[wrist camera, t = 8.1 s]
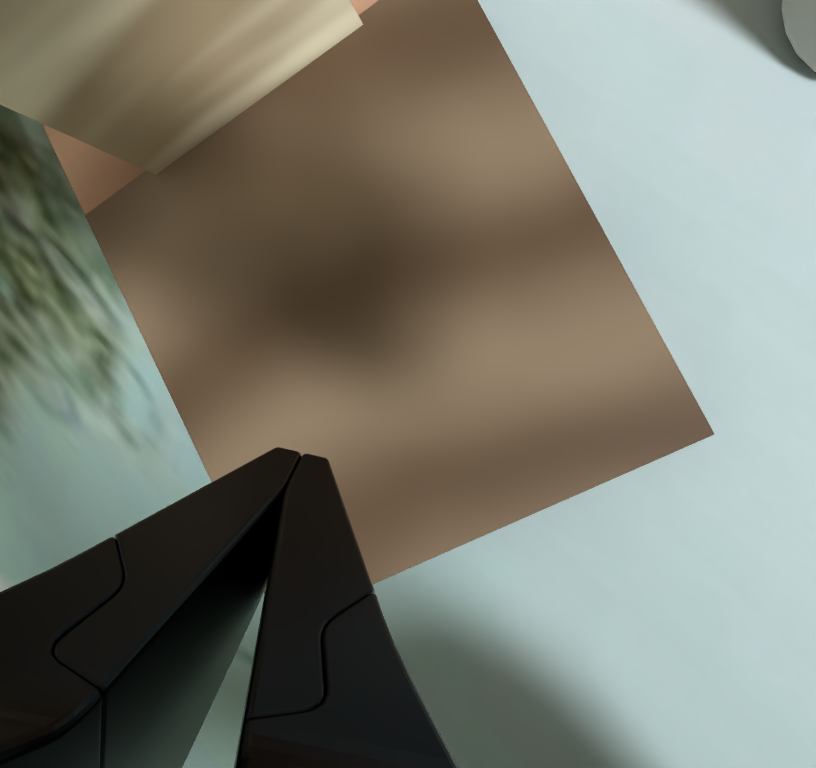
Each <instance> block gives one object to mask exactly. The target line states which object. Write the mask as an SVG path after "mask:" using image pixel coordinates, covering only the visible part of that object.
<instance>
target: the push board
mask: <svg viewBox="0 0 816 768" xmlns="http://www.w3.org/2000/svg"><path fill="white" fill-rule="evenodd" d="M351 2H352V4H353V6H354V8H355V10H356V12H357V14H358V15H359V17H360V19H361V21H362V23H363V25H362V26H361V27H359V28H358V29H356V30H355V31H354V32H352V33H351V34H350V35H348V36H347V37H345V38H344V39H343V40H341V41H340V42H338V43H337V44H336V45H334V46H333V47H332V48H330V49H329V50H327V51H326V52H325V53H323V54H322V55H321V56H319V57H318V58H316V59H315V60H314V61H312V62H311V63H310V64H308V65H307V66H305V67H304V68H303V69H301V70H300V71H298V72H297V73H296V74H294V75H293V76H292V77H290V78H289V79H287V80H286V81H285V82H283V83H282V84H281V85H279V86H278V87H276V88H275V89H274V90H272V91H271V92H270V93H268V94H267V95H265V96H264V97H263V98H261V99H260V100H258V101H257V102H256V103H254V104H253V105H252V106H250V107H249V108H247V109H246V110H245V111H243V112H242V113H241V114H239V115H238V116H236V117H235V118H234V119H232V120H231V121H230V122H228V123H227V124H225V125H224V126H223V127H221V128H220V129H218V130H217V131H216V132H214V133H213V134H212V135H210V136H209V137H207V138H206V139H205V140H203V141H202V142H201V143H199V144H198V145H196V146H195V147H194V148H192V149H191V150H189V151H188V152H187V153H185V154H184V155H183V156H181V157H180V158H178V159H177V160H176V161H174V162H173V163H172V164H170V165H169V166H167V167H166V168H165V169H163V170H162V171H161V172H159V173H158V174H156V175H155V174H153V173H150V172H148V171H146V170H144V169H141V168H139V167H137V166H135V165H133V164H130V163H128V162H126V161H124V160H122V159H119V158H117V157H115V156H113V155H110V154H108V153H106V152H104V151H102V150H99V149H97V148H95V147H93V146H91V145H88V144H86V143H84V142H82V141H79V140H77V139H75V138H73V137H71V136H68V135H66V134H64V133H62V132H60V131H57V130H55V129H53V128H51V127H49V126H46V125H44V124H42V123H41V124H42V126H43V128H44V130H45V132H46V134H47V136H48V138H49V140H50V142H51V145H52V147H53V149H54V151H55V153H56V155H57V157H58V159H59V161H60V164H61V166H62V168H63V170H64V172H65V174H66V176H67V178H68V180H69V182H70V185H71V187H72V189H73V191H74V193H75V195H76V197H77V199H78V201H79V204H80V206H81V208H82V210H83V212H84V214H85V216H86V218H87V220H88V222H89V225H90V227H91V229H92V231H93V233H94V235H95V237H96V239H97V241H98V244H99V246H100V248H101V250H102V252H103V254H104V256H105V258H106V260H107V263H108V265H109V267H110V269H111V271H112V273H113V275H114V277H115V279H116V281H117V284H118V286H119V288H120V290H121V292H122V294H123V296H124V298H125V300H126V303H127V305H128V307H129V309H130V311H131V313H132V315H133V317H134V319H135V321H136V324H137V326H138V328H139V330H140V332H141V334H142V336H143V338H144V340H145V343H146V345H147V347H148V349H149V351H150V353H151V355H152V357H153V359H154V361H155V364H156V366H157V368H158V370H159V372H160V374H161V376H162V378H163V380H164V383H165V385H166V387H167V389H168V391H169V393H170V395H171V397H172V399H173V402H174V404H175V406H176V408H177V410H178V412H179V414H180V416H181V418H182V420H183V423H184V425H185V427H186V429H187V431H188V433H189V435H190V437H191V439H192V442H193V444H194V446H195V448H196V450H197V452H198V454H199V456H200V458H201V460H202V463H203V465H204V467H205V469H206V471H207V473H208V475H209V477H210V479H211V482H213V481H215V480H217V479H219V478H221V477H222V476H224V475H226V474H228V473H230V472H232V471H233V470H235V469H237V468H239V467H241V466H243V465H244V464H246V463H248V462H250V461H252V460H254V459H255V458H257V457H259V456H261V455H263V454H265V453H266V452H268V451H270V450H272V449H274V448H276V447H281V448H285V449H289V450H294V451H298V452H300V454H301V457H302V455H303V454H311V455H315V456H320V457H324V458H327V459H328V460H329V463H330V466H331V468H332V471H333V474H334V477H335V480H336V483H337V486H338V488H339V491H340V494H341V497H342V500H343V503H344V506H345V509H346V511H347V514H348V517H349V520H350V523H351V526H352V529H353V531H354V534H355V537H356V540H357V543H358V546H359V549H360V551H361V554H362V557H363V560H364V563H365V566H366V569H367V571H368V574H369V577H370V580H371V583H372V584H374V583H377V582H379V581H381V580H383V579H386V578H388V577H390V576H393V575H395V574H397V573H399V572H402V571H404V570H406V569H408V568H411V567H413V566H415V565H418V564H420V563H422V562H424V561H427V560H429V559H431V558H434V557H436V556H438V555H440V554H443V553H445V552H447V551H449V550H452V549H454V548H456V547H459V546H461V545H463V544H465V543H468V542H470V541H472V540H475V539H477V538H479V537H481V536H484V535H486V534H488V533H491V532H493V531H495V530H497V529H500V528H502V527H504V526H506V525H509V524H511V523H513V522H516V521H518V520H520V519H522V518H525V517H527V516H529V515H532V514H534V513H536V512H538V511H541V510H543V509H545V508H547V507H550V506H552V505H554V504H557V503H559V502H561V501H563V500H566V499H568V498H570V497H573V496H575V495H577V494H579V493H582V492H584V491H586V490H589V489H591V488H593V487H595V486H598V485H600V484H602V483H604V482H607V481H609V480H611V479H614V478H616V477H618V476H620V475H623V474H625V473H627V472H630V471H632V470H634V469H636V468H639V467H641V466H643V465H646V464H648V463H650V462H652V461H655V460H657V459H659V458H661V457H664V456H666V455H668V454H671V453H673V452H675V451H677V450H680V449H682V448H684V447H687V446H689V445H691V444H693V443H696V442H698V441H700V440H702V439H705V438H707V437H709V436H712V435H714V432H713V431H712V429H711V427H710V425H709V423H708V421H707V420H706V418H705V416H704V414H703V412H702V410H701V409H700V407H699V405H698V403H697V401H696V399H695V398H694V396H693V394H692V392H691V390H690V388H689V387H688V385H687V383H686V381H685V379H684V377H683V376H682V374H681V372H680V370H679V368H678V366H677V365H676V363H675V361H674V359H673V357H672V355H671V354H670V352H669V350H668V348H667V346H666V344H665V343H664V341H663V339H662V337H661V335H660V334H659V332H658V330H657V328H656V326H655V324H654V323H653V321H652V319H651V317H650V315H649V313H648V312H647V310H646V308H645V306H644V304H643V302H642V301H641V299H640V297H639V295H638V293H637V291H636V290H635V288H634V286H633V284H632V282H631V280H630V279H629V277H628V275H627V273H626V271H625V269H624V268H623V266H622V264H621V262H620V260H619V258H618V257H617V255H616V253H615V251H614V249H613V247H612V246H611V244H610V242H609V240H608V238H607V237H606V235H605V233H604V231H603V229H602V227H601V226H600V224H599V222H598V220H597V218H596V216H595V215H594V213H593V211H592V209H591V207H590V205H589V204H588V202H587V200H586V198H585V196H584V194H583V193H582V191H581V189H580V187H579V185H578V183H577V182H576V180H575V178H574V176H573V174H572V172H571V171H570V169H569V167H568V165H567V163H566V161H565V160H564V158H563V156H562V154H561V152H560V151H559V149H558V147H557V145H556V143H555V141H554V140H553V138H552V136H551V134H550V132H549V130H548V129H547V127H546V125H545V123H544V121H543V119H542V118H541V116H540V114H539V112H538V110H537V108H536V107H535V105H534V103H533V101H532V99H531V97H530V96H529V94H528V92H527V90H526V88H525V86H524V85H523V83H522V81H521V79H520V77H519V75H518V74H517V72H516V70H515V68H514V66H513V64H512V63H511V61H510V59H509V57H508V55H507V54H506V52H505V50H504V48H503V46H502V44H501V43H500V41H499V39H498V37H497V35H496V33H495V32H494V30H493V28H492V26H491V24H490V22H489V21H488V19H487V17H486V15H485V13H484V11H483V10H482V8H481V6H480V4H479V2H478V0H351ZM265 591H266V587H265V590H264V593H265Z"/></svg>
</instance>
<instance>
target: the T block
mask: <svg viewBox="0 0 816 768" xmlns="http://www.w3.org/2000/svg"><path fill="white" fill-rule="evenodd" d="M362 25H363V23H362V21H361V19H360V17H359V15H358V14H357V12H356V10H355V8H354V6H353V4H352V2H351V0H0V105H2V106H4V107H6V108H9V109H11V110H13V111H15V112H18V113H20V114H22V115H24V116H26V117H29V118H31V119H33V120H35V121H37V122H40V123H42V124H44V125H46V126H49V127H51V128H53V129H55V130H57V131H60V132H62V133H64V134H66V135H68V136H71V137H73V138H75V139H77V140H79V141H82V142H84V143H86V144H88V145H91V146H93V147H95V148H97V149H99V150H102V151H104V152H106V153H108V154H110V155H113V156H115V157H117V158H119V159H122V160H124V161H126V162H128V163H130V164H133V165H135V166H137V167H139V168H141V169H144V170H146V171H148V172H150V173H153V174H155V175H156V174H158V173H159V172H161V171H162V170H163V169H165V168H166V167H167V166H169V165H170V164H172V163H173V162H174V161H176V160H177V159H178V158H180V157H181V156H183V155H184V154H185V153H187V152H188V151H189V150H191V149H192V148H194V147H195V146H196V145H198V144H199V143H201V142H202V141H203V140H205V139H206V138H207V137H209V136H210V135H212V134H213V133H214V132H216V131H217V130H218V129H220V128H221V127H223V126H224V125H225V124H227V123H228V122H230V121H231V120H232V119H234V118H235V117H236V116H238V115H239V114H241V113H242V112H243V111H245V110H246V109H247V108H249V107H250V106H252V105H253V104H254V103H256V102H257V101H258V100H260V99H261V98H263V97H264V96H265V95H267V94H268V93H270V92H271V91H272V90H274V89H275V88H276V87H278V86H279V85H281V84H282V83H283V82H285V81H286V80H287V79H289V78H290V77H292V76H293V75H294V74H296V73H297V72H298V71H300V70H301V69H303V68H304V67H305V66H307V65H308V64H310V63H311V62H312V61H314V60H315V59H316V58H318V57H319V56H321V55H322V54H323V53H325V52H326V51H327V50H329V49H330V48H332V47H333V46H334V45H336V44H337V43H338V42H340V41H341V40H343V39H344V38H345V37H347V36H348V35H350V34H351V33H352V32H354V31H355V30H356V29H358V28H359V27H361V26H362Z"/></svg>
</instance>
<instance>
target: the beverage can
mask: <svg viewBox="0 0 816 768" xmlns="http://www.w3.org/2000/svg"><path fill="white" fill-rule="evenodd" d="M781 9H782V15H783V21H784V27H785V33H786V35H787V36H788V38H789V40H790V42H791V44H792V46H793V48H794V50H795V52H796V54H797V55H798V56H799V57H800V58H801V59H802V60H803V61H804V62H805V63H806V64H807V65H808V66H809V67H810V68H811V69H812V70H813V71H814V72H816V0H782V6H781Z"/></svg>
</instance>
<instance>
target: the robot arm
mask: <svg viewBox="0 0 816 768" xmlns="http://www.w3.org/2000/svg"><path fill="white" fill-rule="evenodd" d="M265 587H266V591H265V596H264V602H263V607H262V613H261V618H260V624H259V630H258V635H257V641H256V646H255V652H254V657H253V663H252V669H251V674H250V680H249V685H248V691H247V697H246V702H245V708H244V713H243V719H242V724H241V730H240V736H239V741H238V747H237V752H236V758H235V764H234V768H458V767H457V765H456V763H455V762H454V760H453V758H452V756H451V754H450V752H449V750H448V748H447V746H446V744H445V742H444V741H443V739H442V737H441V735H440V733H439V731H438V729H437V727H436V725H435V723H434V721H433V719H432V717H431V716H430V714H429V712H428V710H427V708H426V706H425V704H424V702H423V700H422V698H421V696H420V694H419V693H418V691H417V689H416V687H415V685H414V683H413V681H412V679H411V677H410V675H409V673H408V671H407V669H406V667H405V665H404V663H403V661H402V659H401V657H400V655H399V652H398V650H397V648H396V646H395V644H394V642H393V639H392V637H391V634H390V632H389V629H388V627H387V624H386V621H385V619H384V616H383V614H382V611H381V608H380V605H379V602H378V599H377V596H376V595H375V594H374V589H373V586H372V583H371V580H370V577H369V574H368V571H367V569H366V566H365V563H364V560H363V557H362V554H361V551H360V549H359V546H358V543H357V540H356V537H355V534H354V531H353V529H352V526H351V523H350V520H349V517H348V514H347V511H346V509H345V506H344V503H343V500H342V497H341V494H340V491H339V488H338V486H337V483H336V480H335V477H334V474H333V471H332V468H331V466H330V463H329V460H328V459H327V458H324V457H320V456H315V455H311V454H303V455H302V457H301V454H300V452H298V451H294V450H289V449H285V448H281V447H276V448H274V449H272V450H270V451H268V452H266V453H265V454H263V455H261V456H259V457H257V458H255V459H254V460H252V461H250V462H248V463H246V464H244V465H243V466H241V467H239V468H237V469H235V470H233V471H232V472H230V473H228V474H226V475H224V476H222V477H221V478H219V479H217V480H215V481H213V482H211V483H210V484H208V485H206V486H204V487H202V488H200V489H199V490H197V491H195V492H193V493H191V494H189V495H188V496H186V497H184V498H182V499H180V500H178V501H177V502H175V503H173V504H171V505H169V506H167V507H166V508H164V509H162V510H160V511H158V512H156V513H155V514H153V515H151V516H149V517H147V518H145V519H144V520H142V521H140V522H138V523H136V524H134V525H133V526H131V527H129V528H127V529H125V530H124V531H122V532H120V533H118V534H116V535H115V538H113V537H111V538H108V539H107V540H105V541H103V542H101V543H99V544H97V545H96V546H94V547H92V548H90V549H88V550H86V551H84V552H82V553H81V554H79V555H77V556H75V557H73V558H71V559H69V560H67V561H65V562H63V563H61V564H59V565H57V566H55V567H53V568H51V569H49V570H47V571H45V572H43V573H41V574H39V575H36V576H34V577H32V578H30V579H28V580H26V581H23V582H21V583H19V584H17V585H15V586H13V587H10V588H8V589H6V590H4V591H2V592H0V768H182V767H183V765H184V762H185V760H186V758H187V756H188V754H189V752H190V750H191V747H192V745H193V743H194V741H195V739H196V737H197V735H198V732H199V730H200V728H201V726H202V724H203V722H204V720H205V717H206V715H207V713H208V711H209V709H210V707H211V705H212V702H213V700H214V698H215V696H216V694H217V692H218V690H219V688H220V685H221V683H222V681H223V679H224V677H225V675H226V673H227V670H228V668H229V666H230V664H231V662H232V660H233V658H234V655H235V653H236V651H237V649H238V647H239V645H240V643H241V640H242V638H243V636H244V634H245V632H246V630H247V628H248V625H249V623H250V621H251V619H252V617H253V615H254V613H255V610H256V608H257V606H258V604H259V602H260V599H261V597H262V595H263V592H264V590H265Z"/></svg>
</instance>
